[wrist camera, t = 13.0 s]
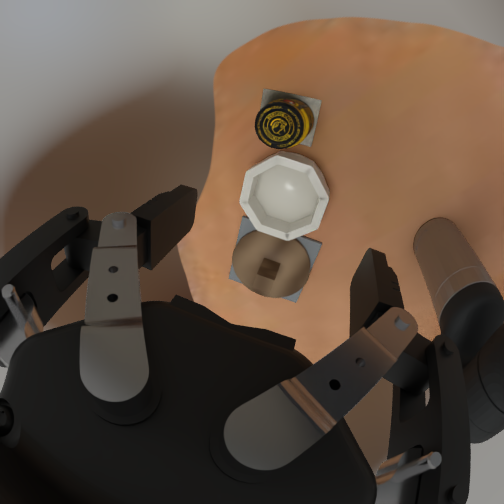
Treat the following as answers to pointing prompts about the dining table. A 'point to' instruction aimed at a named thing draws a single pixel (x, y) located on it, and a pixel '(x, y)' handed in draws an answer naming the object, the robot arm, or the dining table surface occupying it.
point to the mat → (308, 243)
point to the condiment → (286, 119)
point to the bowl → (285, 195)
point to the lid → (271, 264)
